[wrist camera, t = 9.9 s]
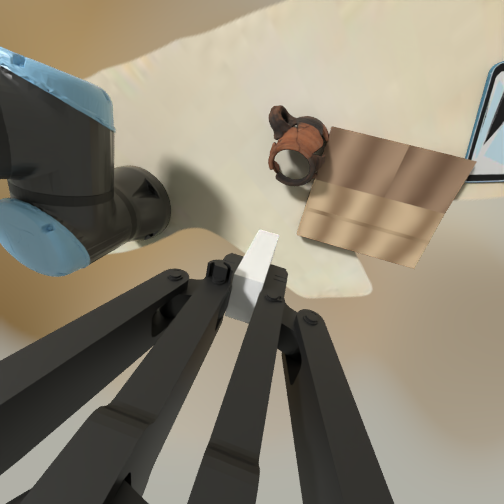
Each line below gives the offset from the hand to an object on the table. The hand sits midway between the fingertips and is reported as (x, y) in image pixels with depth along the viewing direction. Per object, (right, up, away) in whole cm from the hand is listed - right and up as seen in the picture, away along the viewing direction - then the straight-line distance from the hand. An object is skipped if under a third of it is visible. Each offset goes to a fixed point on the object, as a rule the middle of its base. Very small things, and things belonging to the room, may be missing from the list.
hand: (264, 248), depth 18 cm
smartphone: (+34, +17, +16) cm, 42 cm away
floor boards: (+21, +13, +21) cm, 32 cm away
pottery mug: (+6, +18, +23) cm, 29 cm away
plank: (+19, +5, +25) cm, 31 cm away
